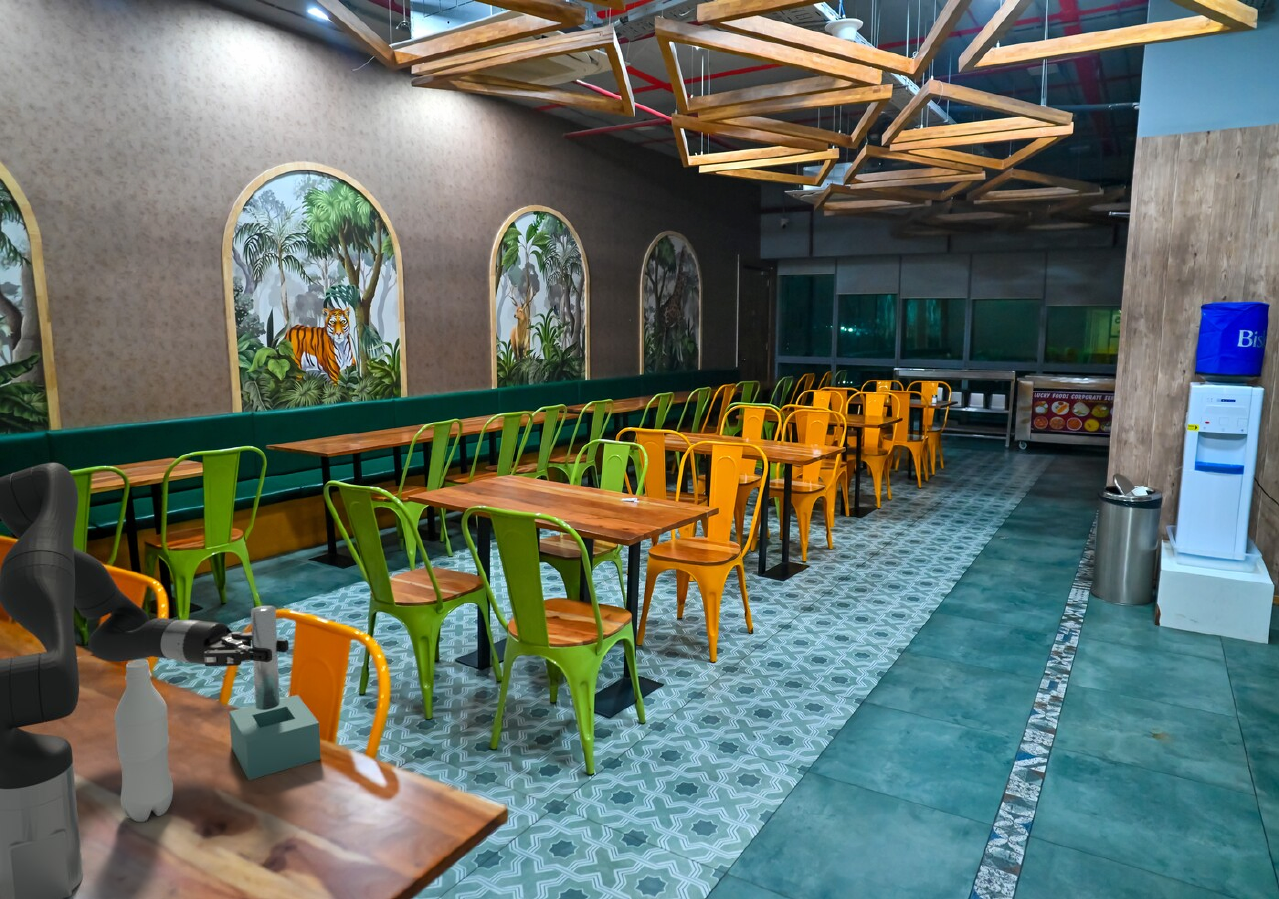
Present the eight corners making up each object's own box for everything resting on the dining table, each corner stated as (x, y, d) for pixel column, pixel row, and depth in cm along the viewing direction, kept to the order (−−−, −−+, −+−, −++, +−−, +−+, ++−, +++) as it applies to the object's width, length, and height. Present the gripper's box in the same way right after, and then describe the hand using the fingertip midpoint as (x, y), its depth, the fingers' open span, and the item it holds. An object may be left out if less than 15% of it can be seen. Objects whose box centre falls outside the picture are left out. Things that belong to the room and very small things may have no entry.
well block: (320, 759, 148) (319, 722, 147) (248, 780, 141) (246, 741, 140) (299, 729, 159) (297, 694, 158) (231, 747, 152) (229, 711, 151)
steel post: (282, 706, 149) (278, 610, 146) (258, 711, 146) (253, 614, 144) (276, 698, 152) (272, 604, 149) (253, 703, 149) (248, 608, 147)
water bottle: (112, 817, 130) (99, 667, 126) (156, 795, 136) (146, 651, 133) (139, 830, 127) (127, 676, 123) (184, 807, 133) (173, 660, 129)
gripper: (165, 635, 143) (251, 645, 140) (222, 609, 157) (302, 617, 153) (167, 676, 144) (253, 687, 141) (224, 647, 158) (304, 655, 154)
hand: (278, 650), depth 147 cm, fingers closed on steel post, 4 cm apart
